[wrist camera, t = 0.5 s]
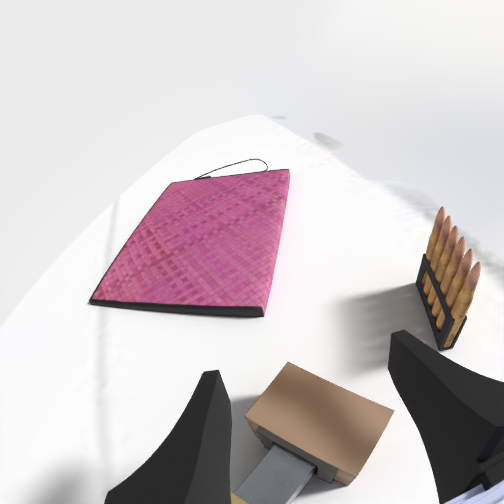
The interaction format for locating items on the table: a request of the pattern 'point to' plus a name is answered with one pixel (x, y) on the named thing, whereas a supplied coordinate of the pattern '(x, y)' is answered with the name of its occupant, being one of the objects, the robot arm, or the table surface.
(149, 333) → the table surface
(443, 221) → the ammunition clip
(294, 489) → the peg
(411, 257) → the table surface
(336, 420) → the collar block
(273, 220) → the laptop bag
